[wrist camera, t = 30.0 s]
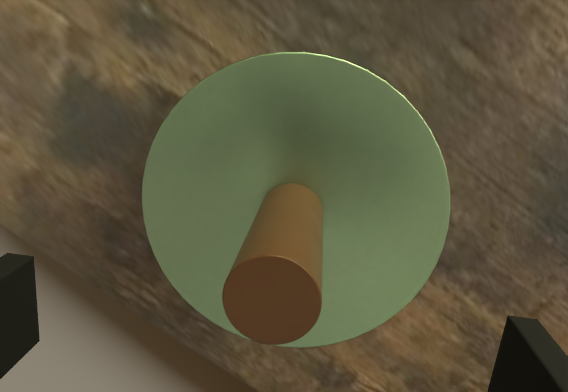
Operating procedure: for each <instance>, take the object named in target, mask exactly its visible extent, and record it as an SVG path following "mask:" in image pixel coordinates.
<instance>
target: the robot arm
mask: <svg viewBox="0 0 568 392" xmlns="http://www.w3.org/2000/svg"><path fill="white" fill-rule="evenodd" d="M38 342H39V326H38V313H37V299H36V283H35V270H34V257H33V256H27V255H18V254H11V253H7V254H5V255H4V256H2V257H0V379H1V378H2V377H3V376H4V375H5V374H6V373H7V372H8V371H9V370H10V369H11V368H12V367H13V366H14V365H15V364H16V363H17V362H18V361H19V360H20V359H21V358H22V357H23V356H24V355H25V354H26V353H27V352H28V351H29V350H31V349H32V348H33V347H34V346H35V345H36V344H37V343H38ZM488 392H568V356H567V355H566V354H565V353H564V351H563V350H562V349H561V348H560V347H559V345H558V344H557V343H556V342H555V340H554V339H553V338H552V337H551V336H550V334H549V333H548V332H547V331H546V329H545V328H544V327H543V326H542V325H541V323H540V322H539V321H538V320H537V319H531V318H523V317H515V316H508V317H507V321H506V324H505V328H504V332H503V336H502V339H501V343H500V347H499V351H498V354H497V358H496V362H495V366H494V369H493V373H492V377H491V381H490V384H489V388H488Z"/></svg>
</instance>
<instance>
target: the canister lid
mask: <svg viewBox="0 0 568 392" xmlns="http://www.w3.org/2000/svg"><path fill="white" fill-rule="evenodd" d="M142 208H143V219H144V223H145V228H146V232H147V237H148V239H149V242H150V245H151V248H152V251H153V253H154V255H155V257H156V259H157V261H158V263H159V265H160V267H161V269H162V271H163V272H164V274H165V275H166V277H167V278H168V280H169V281H170V283H171V284H172V286H173V287H174V288H175V289H176V290H177V292H178V293H179V294H180V295H181V296H182V297H183V298H184V300H186V301H187V302H188V303H189V304H190V305H191V306H192V307H193V308H194V309H195V310H196V311H198V312H199V313H200V314H202V315H203V316H204V317H206V318H207V319H209V320H210V321H211V322H213V323H215V324H216V325H218V326H220V327H222V328H224V329H225V330H227V331H229V332H231V333H234V334H236V335H239V336H241V337H244V338H246V339H249V340H253V341H256V342H259V343H263V344H268V345H275V346H281V347H298V348H301V347H318V346H324V345H329V344H335V343H339V342H342V341H346V340H349V339H352V338H355V337H357V336H360V335H362V334H364V333H366V332H369V331H371V330H373V329H374V328H376V327H378V326H380V325H381V324H383V323H385V322H386V321H388V320H389V319H390V318H392V317H393V316H394V315H396V314H397V313H398V312H399V311H401V310H402V309H403V308H404V307H405V306H406V305H407V304H408V303H409V302H410V301H411V300H412V299H413V298H414V297H415V296H416V295H417V293H418V292H419V291H420V289H421V288H422V287H423V285H424V284H425V283H426V282H427V280H428V278H429V276H430V275H431V273H432V271H433V269H434V268H435V266H436V264H437V262H438V259H439V257H440V254H441V252H442V249H443V247H444V243H445V239H446V235H447V231H448V227H449V218H450V208H451V207H450V186H449V180H448V175H447V169H446V165H445V162H444V159H443V156H442V153H441V150H440V147H439V145H438V143H437V141H436V139H435V137H434V135H433V133H432V131H431V129H430V128H429V126H428V125H427V123H426V122H425V121H424V119H423V118H422V116H421V115H420V113H419V112H418V111H417V110H416V108H415V107H414V106H413V105H412V104H411V103H410V102H409V101H408V100H407V99H406V98H405V96H404V95H402V94H401V93H400V92H399V91H397V90H396V89H395V88H394V87H393V86H391V85H390V84H389V83H388V82H386V81H385V80H383V79H382V78H380V77H378V76H377V75H375V74H373V73H372V72H370V71H369V70H367V69H364V68H362V67H360V66H357V65H355V64H353V63H351V62H348V61H345V60H342V59H338V58H334V57H331V56H327V55H321V54H314V53H307V52H279V53H272V54H264V55H259V56H255V57H252V58H248V59H244V60H241V61H238V62H236V63H234V64H231V65H229V66H227V67H224V68H222V69H220V70H218V71H217V72H215V73H213V74H212V75H210V76H208V77H207V78H205V79H204V80H202V81H201V82H200V83H198V84H197V85H196V86H195V87H194V88H192V89H191V90H190V91H189V92H187V93H186V94H185V95H184V96H183V98H182V99H181V100H180V101H179V102H178V103H177V104H176V105H175V106H174V107H173V109H172V110H171V111H170V113H169V114H168V116H167V117H166V119H165V120H164V122H163V123H162V125H161V126H160V128H159V130H158V132H157V134H156V136H155V138H154V141H153V143H152V145H151V148H150V151H149V154H148V157H147V160H146V165H145V170H144V176H143V184H142Z"/></svg>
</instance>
